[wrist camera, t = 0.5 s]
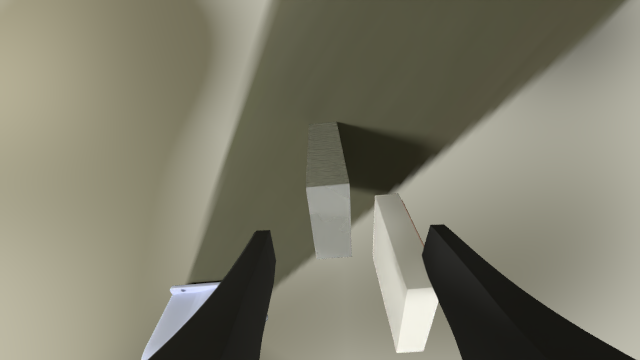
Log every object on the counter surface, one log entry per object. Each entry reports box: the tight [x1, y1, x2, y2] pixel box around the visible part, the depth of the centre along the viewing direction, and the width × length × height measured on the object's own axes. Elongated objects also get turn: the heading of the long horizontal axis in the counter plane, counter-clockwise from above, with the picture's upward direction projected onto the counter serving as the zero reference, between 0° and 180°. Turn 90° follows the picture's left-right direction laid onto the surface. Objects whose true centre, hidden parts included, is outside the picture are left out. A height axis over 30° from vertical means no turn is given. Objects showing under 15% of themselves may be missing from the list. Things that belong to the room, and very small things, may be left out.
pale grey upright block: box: [306, 122, 352, 259], centre depth 16 cm, size 2×5×8 cm, turn 5°
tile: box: [373, 194, 438, 353], centre depth 20 cm, size 2×8×9 cm, turn 5°
